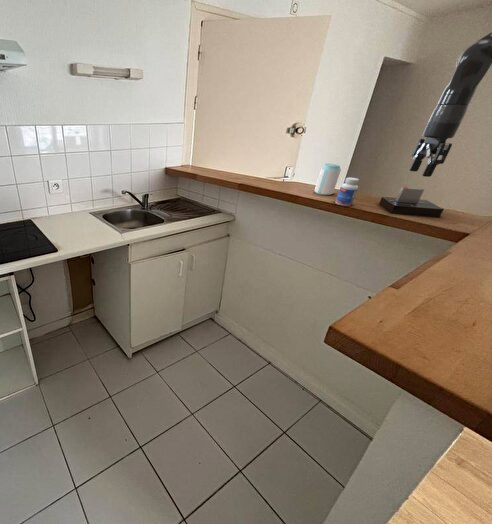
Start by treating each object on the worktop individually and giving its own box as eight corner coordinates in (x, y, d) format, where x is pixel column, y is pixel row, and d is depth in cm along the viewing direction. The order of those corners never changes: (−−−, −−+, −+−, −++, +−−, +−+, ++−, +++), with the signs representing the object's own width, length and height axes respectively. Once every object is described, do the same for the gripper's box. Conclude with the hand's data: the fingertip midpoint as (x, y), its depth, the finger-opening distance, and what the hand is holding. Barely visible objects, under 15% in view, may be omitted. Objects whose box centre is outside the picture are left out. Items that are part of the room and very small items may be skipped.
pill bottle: (333, 203, 110) (341, 178, 105) (337, 201, 113) (346, 176, 108) (349, 207, 106) (358, 181, 101) (353, 204, 109) (362, 178, 104)
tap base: (422, 207, 105) (426, 199, 104) (439, 217, 96) (444, 208, 94) (378, 204, 109) (382, 196, 107) (391, 213, 100) (394, 205, 98)
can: (320, 190, 126) (328, 162, 120) (336, 194, 121) (345, 165, 115) (310, 192, 123) (318, 164, 117) (326, 196, 118) (336, 167, 112)
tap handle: (414, 202, 101) (422, 187, 99) (417, 203, 100) (424, 188, 97) (395, 200, 103) (401, 186, 100) (397, 202, 101) (404, 187, 99)
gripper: (475, 122, 81) (445, 179, 89) (446, 119, 93) (421, 170, 101) (443, 122, 83) (416, 177, 91) (418, 119, 95) (396, 168, 103)
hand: (419, 173), depth 96 cm, fingers open, 8 cm apart
